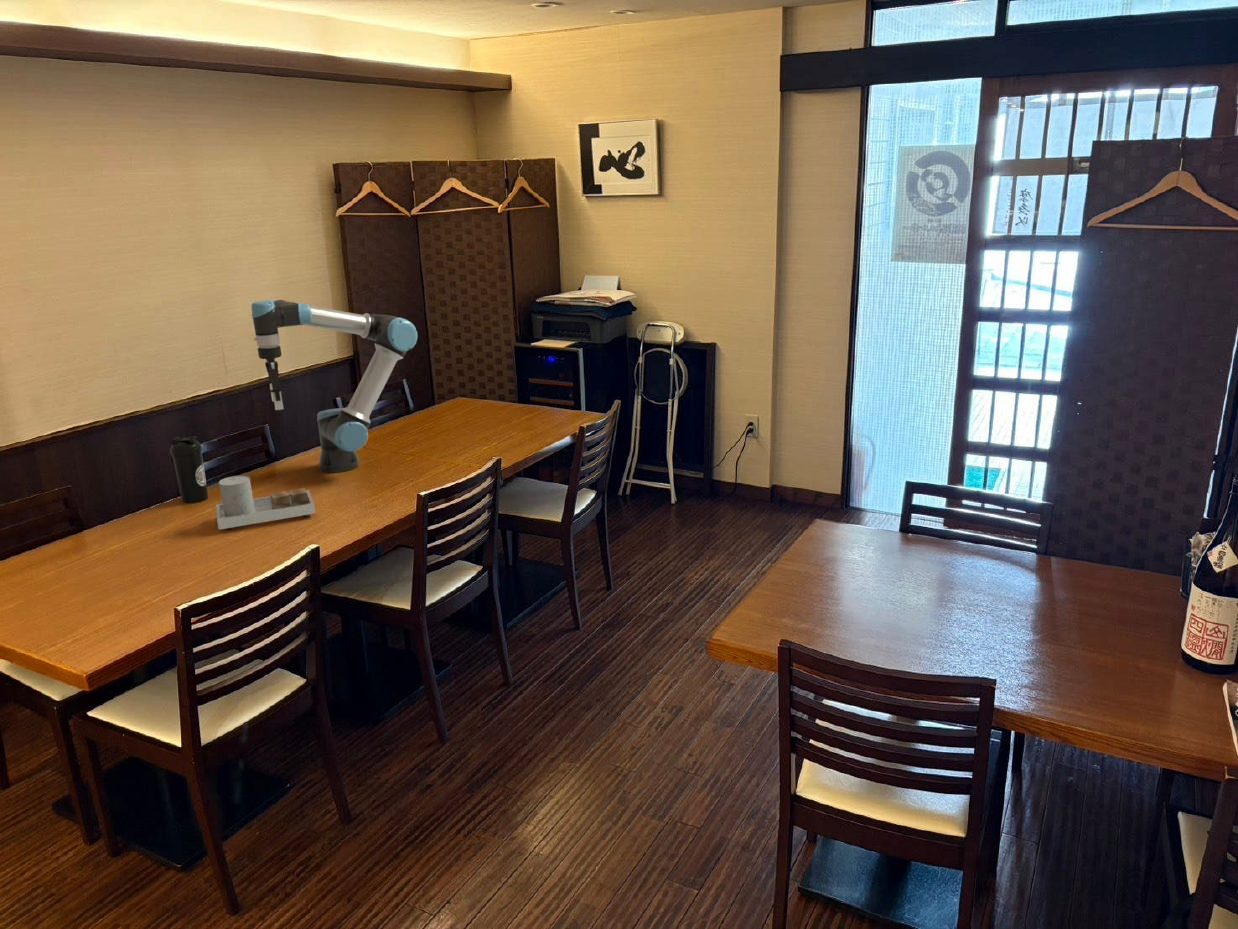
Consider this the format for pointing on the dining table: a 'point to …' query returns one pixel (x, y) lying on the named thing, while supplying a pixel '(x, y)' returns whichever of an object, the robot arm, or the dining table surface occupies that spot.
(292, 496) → the walnut block
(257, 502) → the tray
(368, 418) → the robot arm
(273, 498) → the walnut block
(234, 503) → the grey cylinder
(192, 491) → the water bottle
